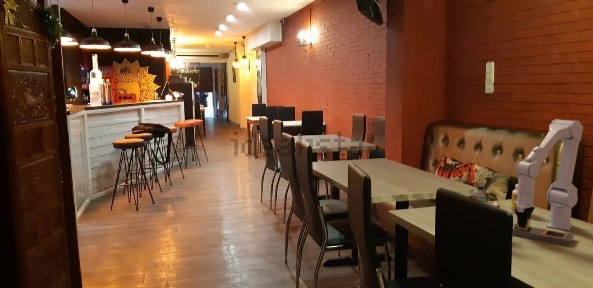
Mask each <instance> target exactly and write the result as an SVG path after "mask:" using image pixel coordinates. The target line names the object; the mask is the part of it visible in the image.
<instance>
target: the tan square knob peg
mask: <svg viewBox="0 0 593 288" xmlns="http://www.w3.org/2000/svg"><path fill="white" fill-rule="evenodd" d="M531 221H532V219H531V217H530V218H528V219H527V223H526V227H525V228H521V227H519V225H518V219H517V218H516V224H517V230H522V231H528V232H530V227H531Z"/></svg>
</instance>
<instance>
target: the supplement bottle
mask: <svg viewBox="0 0 593 288" xmlns="http://www.w3.org/2000/svg"><path fill="white" fill-rule="evenodd" d="M514 187H515V189H513V190H512V192H511V193H512V194H511V204H510V205H511V208H510V211H511V213H512V214H515V215H516V213H515V211H514V209H515V208H518V206H517V204H514V201H517V195H518V183H516V184H515V186H514Z"/></svg>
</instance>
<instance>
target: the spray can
mask: <svg viewBox="0 0 593 288" xmlns="http://www.w3.org/2000/svg"><path fill="white" fill-rule="evenodd" d="M471 197H472V198H474V199H477V200H479V201H482V202H485V203H488V202H489V201H488V200H489V192H488V191H486V190H485V188H484V186H483V185H482V184H481V185H478V186H477V188H476V189H474V190H473V191H472V196H471ZM472 198H471V199H472Z"/></svg>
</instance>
